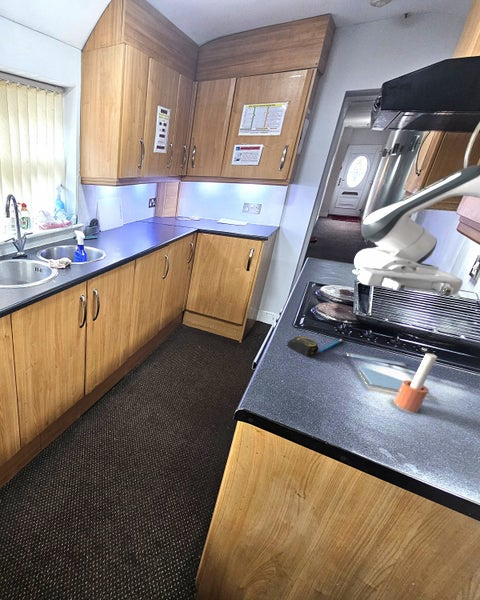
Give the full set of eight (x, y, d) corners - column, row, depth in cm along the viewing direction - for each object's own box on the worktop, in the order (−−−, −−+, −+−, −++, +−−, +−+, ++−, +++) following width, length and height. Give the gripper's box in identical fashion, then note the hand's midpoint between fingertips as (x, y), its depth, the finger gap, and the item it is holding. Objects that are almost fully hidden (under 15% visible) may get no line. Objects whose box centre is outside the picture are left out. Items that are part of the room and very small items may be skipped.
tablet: (402, 364, 95) (403, 362, 95) (437, 402, 80) (438, 399, 80) (345, 354, 100) (346, 351, 100) (367, 388, 85) (368, 385, 84)
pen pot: (412, 403, 80) (422, 383, 77) (421, 415, 76) (433, 394, 73) (390, 398, 81) (399, 378, 79) (398, 409, 77) (408, 389, 75)
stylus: (409, 404, 79) (434, 354, 73) (413, 408, 77) (439, 358, 72) (399, 402, 79) (424, 352, 74) (403, 406, 78) (428, 356, 72)
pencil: (342, 341, 107) (342, 339, 107) (314, 356, 99) (315, 354, 99) (339, 340, 108) (340, 338, 107) (311, 355, 100) (312, 353, 100)
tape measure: (284, 348, 103) (287, 338, 101) (299, 344, 105) (302, 333, 103) (305, 360, 97) (308, 349, 95) (321, 354, 99) (324, 344, 98)
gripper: (353, 258, 93) (378, 272, 80) (443, 266, 87) (484, 282, 75) (345, 279, 95) (369, 296, 83) (433, 288, 90) (471, 307, 77)
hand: (424, 289), depth 79 cm, fingers open, 8 cm apart
